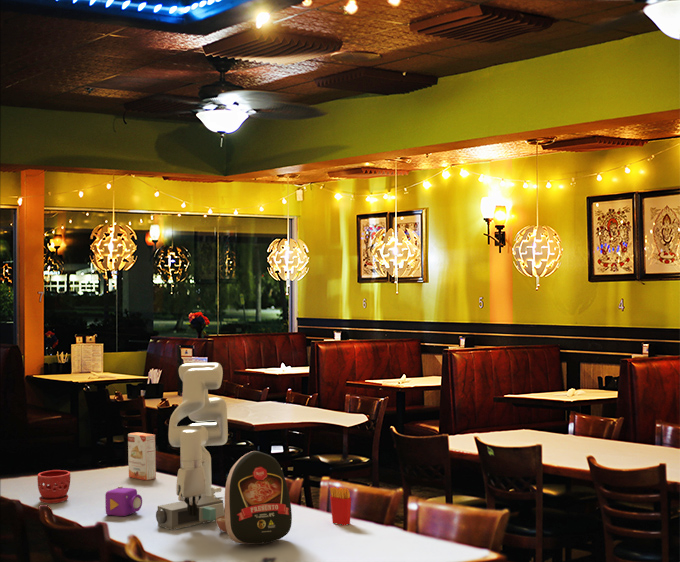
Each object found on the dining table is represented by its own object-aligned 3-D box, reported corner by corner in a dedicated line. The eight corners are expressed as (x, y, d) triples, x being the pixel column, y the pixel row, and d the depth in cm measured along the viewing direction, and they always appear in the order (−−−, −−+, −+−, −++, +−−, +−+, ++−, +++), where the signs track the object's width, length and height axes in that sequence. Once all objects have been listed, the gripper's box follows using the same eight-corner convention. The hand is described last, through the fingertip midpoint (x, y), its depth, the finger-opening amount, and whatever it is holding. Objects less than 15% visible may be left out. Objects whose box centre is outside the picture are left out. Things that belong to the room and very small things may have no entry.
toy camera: (135, 518, 326) (135, 491, 326) (102, 517, 329) (102, 490, 329) (147, 511, 337) (147, 485, 337) (115, 510, 339) (114, 485, 340)
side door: (221, 516, 320) (221, 502, 320) (231, 519, 316) (231, 505, 316) (199, 521, 314) (198, 507, 314) (208, 524, 309) (208, 510, 309)
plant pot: (30, 504, 354) (30, 474, 355) (52, 497, 367) (52, 469, 367) (56, 506, 349) (55, 476, 350) (77, 499, 362) (77, 470, 362)
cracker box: (127, 477, 407) (127, 433, 407) (138, 475, 411) (137, 431, 412) (145, 480, 397) (145, 435, 398) (156, 478, 402) (155, 434, 403)
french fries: (353, 524, 309) (353, 487, 310) (345, 526, 306) (345, 489, 307) (335, 520, 316) (334, 484, 316) (327, 522, 312) (326, 486, 313)
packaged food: (234, 554, 274) (233, 460, 275) (218, 539, 292) (216, 451, 293) (298, 545, 283) (296, 454, 284) (279, 531, 301) (277, 445, 302)
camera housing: (208, 514, 329) (208, 496, 329) (224, 519, 321) (223, 500, 321) (154, 526, 313) (153, 506, 313) (168, 531, 305) (168, 511, 305)
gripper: (203, 459, 316) (204, 509, 316) (167, 465, 306) (168, 517, 306) (214, 462, 310) (215, 513, 310) (178, 468, 300) (179, 521, 300)
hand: (192, 515), depth 308 cm, fingers closed
